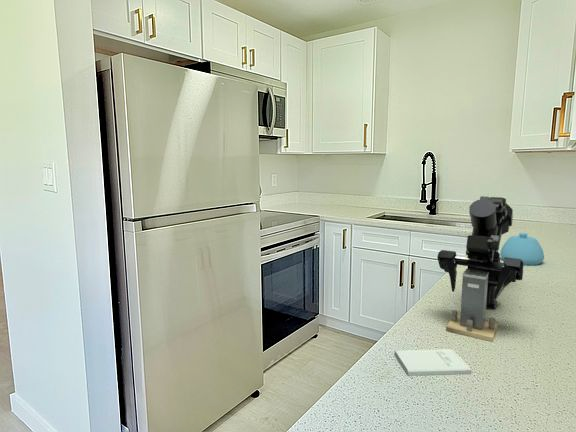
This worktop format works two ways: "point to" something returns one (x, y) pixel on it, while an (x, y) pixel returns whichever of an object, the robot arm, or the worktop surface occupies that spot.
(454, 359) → the external hard drive
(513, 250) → the sugar bowl
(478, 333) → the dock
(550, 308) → the worktop surface
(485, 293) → the tower
